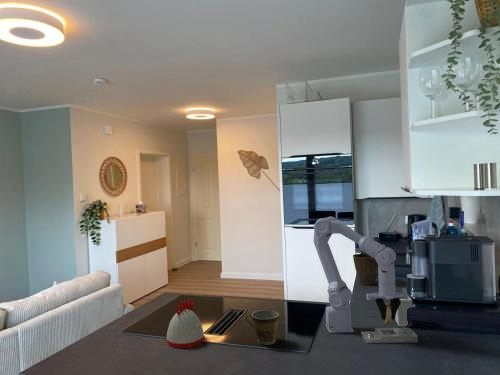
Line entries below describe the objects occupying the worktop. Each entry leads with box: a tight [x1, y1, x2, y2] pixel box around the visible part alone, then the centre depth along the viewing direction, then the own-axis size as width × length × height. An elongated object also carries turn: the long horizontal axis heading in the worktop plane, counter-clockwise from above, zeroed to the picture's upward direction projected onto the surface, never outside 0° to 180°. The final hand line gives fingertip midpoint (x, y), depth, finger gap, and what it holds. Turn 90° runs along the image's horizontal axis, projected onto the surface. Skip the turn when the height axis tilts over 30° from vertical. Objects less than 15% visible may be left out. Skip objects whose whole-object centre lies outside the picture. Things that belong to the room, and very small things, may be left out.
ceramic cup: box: [245, 309, 280, 346], centre depth 140 cm, size 13×10×10 cm
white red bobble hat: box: [166, 298, 205, 349], centre depth 143 cm, size 14×14×15 cm
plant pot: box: [352, 253, 378, 287], centre depth 214 cm, size 15×15×16 cm
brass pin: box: [383, 302, 394, 326], centre depth 139 cm, size 3×3×7 cm
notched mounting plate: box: [360, 327, 419, 344], centre depth 139 cm, size 18×8×3 cm, turn 88°
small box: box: [394, 295, 413, 327], centre depth 153 cm, size 8×6×10 cm
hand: (388, 319), depth 139 cm, fingers closed on brass pin, 3 cm apart
